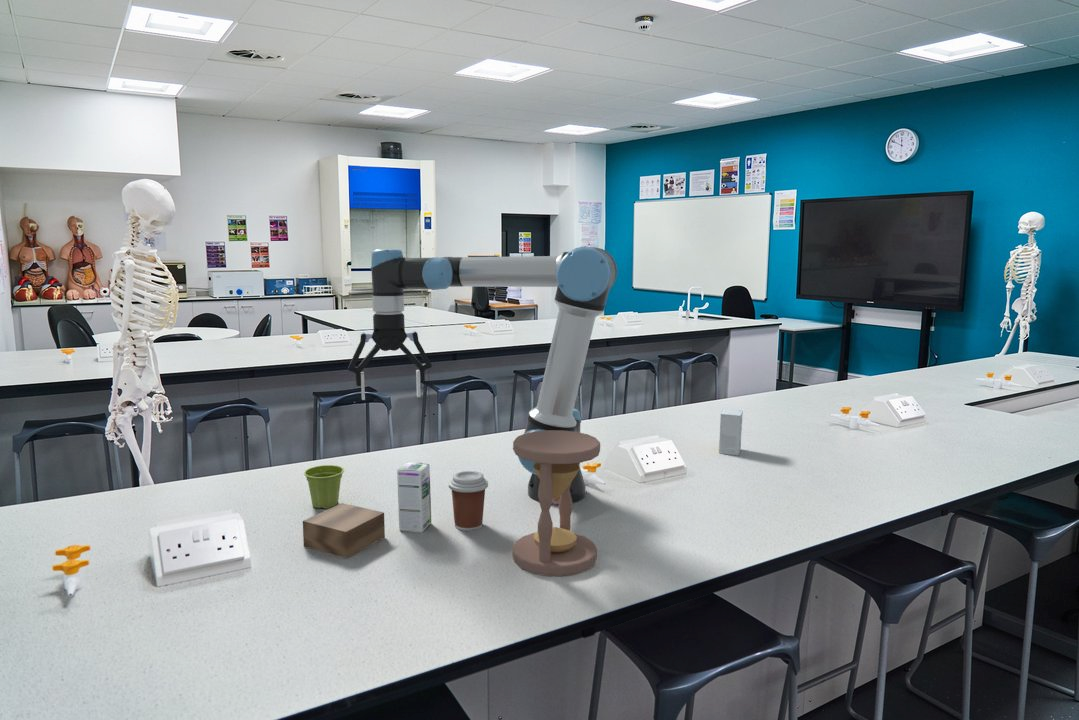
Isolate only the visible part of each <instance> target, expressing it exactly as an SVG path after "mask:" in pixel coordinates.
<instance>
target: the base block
mask: <svg viewBox="0 0 1079 720" xmlns="http://www.w3.org/2000/svg"><path fill="white" fill-rule="evenodd" d="M385 531H386V530H385V512H384V511H378V510H374V509H370V508H366V507H361V506H359V505H352V504H348V503H344V502H342V503H339V504H337V505H336V506H334V507H330V508H327V509H326V510H324V511H322V512H319V513H317V514H315V515H313V516H310V517H309V518H307V519H304V520H302V533H303V534H302V537H303V547H305V548H309V549H312V550H315V551H319V552H322V553H327V554H330V555H334V556H338V557H340V558H344V559H348V558H350V557H351V556H353V555H355V554H357V553H359V552H361V551H363V550H365V549H367V548H368V547H370V546H372V545H373V544H375V543H377V542H379V541H381V540H382V539H384V538H385V537H386V536H385V535H386V534H385V533H386V532H385Z"/></svg>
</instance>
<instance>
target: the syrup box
mask: <svg viewBox="0 0 1079 720" xmlns="http://www.w3.org/2000/svg"><path fill="white" fill-rule="evenodd" d="M430 468H431V467H430V464H429V463H425V462H406V463H405V464H404V465H402V466H401V467H400V468H399V469H397V470H396V473H397V477H396V479H397V480H396V481H397V502H398V508H397V509H398V526H399V527H398V528H399V530H400V531H403V532H412V533H423V532H424V531H425V530H426V529H427V528H428V527H429V526H430V525H431V524H432V501H431V500H432V497H431V495H432V494H431V470H430Z"/></svg>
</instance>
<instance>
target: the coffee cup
mask: <svg viewBox="0 0 1079 720" xmlns="http://www.w3.org/2000/svg"><path fill="white" fill-rule="evenodd" d="M488 487H489V481H488V480H487V479H486V478H485V477H484V474H483V473H482V472H480V471H477V470H463V471H458V472H456V473H455V474H453V475H452V479H450V480H449V482H448V488H449V489H450V490H451V496H452V500H451V501H452V509H453V518H454V527H455V529H457V530H458V531H465V532H471V531H477V530H480V529H481V528H482V527H483V522H484V521H483V518H484V506H485V498H486V497H485V496H486V495H485V494H486V489H487V488H488Z"/></svg>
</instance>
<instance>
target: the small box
mask: <svg viewBox="0 0 1079 720" xmlns="http://www.w3.org/2000/svg"><path fill="white" fill-rule="evenodd" d="M743 414H744V413H743V409H733V408H722V411H721V412H720V421H719V422H720V423H719V440H718V441H719V443H718V454H719V455H730V456H740V452H741V449H742V448H741V446H742V432H743V431H742V428H743Z"/></svg>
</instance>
